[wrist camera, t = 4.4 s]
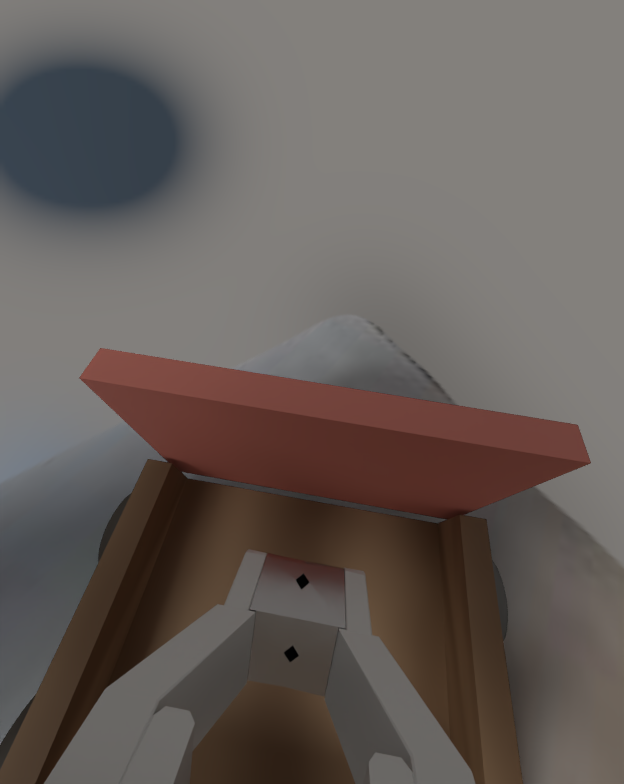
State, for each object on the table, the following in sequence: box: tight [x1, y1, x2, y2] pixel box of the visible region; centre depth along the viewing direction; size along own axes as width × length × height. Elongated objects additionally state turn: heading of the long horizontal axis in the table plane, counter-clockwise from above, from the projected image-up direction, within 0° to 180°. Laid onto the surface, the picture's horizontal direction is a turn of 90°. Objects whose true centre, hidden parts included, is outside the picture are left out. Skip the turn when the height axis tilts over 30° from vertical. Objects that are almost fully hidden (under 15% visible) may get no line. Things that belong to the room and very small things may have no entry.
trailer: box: [0, 459, 523, 784], centre depth 12 cm, size 19×14×9 cm
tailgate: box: [80, 348, 591, 519], centre depth 13 cm, size 15×2×9 cm, turn 81°
